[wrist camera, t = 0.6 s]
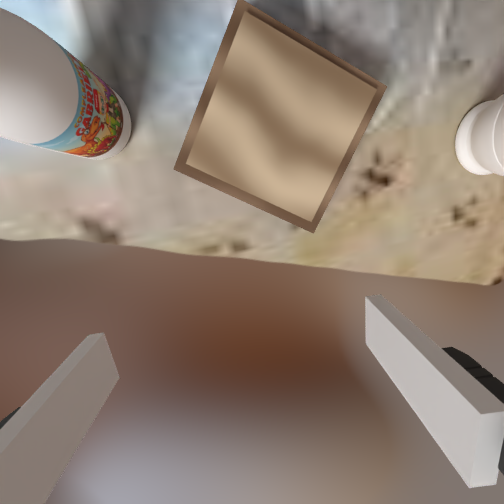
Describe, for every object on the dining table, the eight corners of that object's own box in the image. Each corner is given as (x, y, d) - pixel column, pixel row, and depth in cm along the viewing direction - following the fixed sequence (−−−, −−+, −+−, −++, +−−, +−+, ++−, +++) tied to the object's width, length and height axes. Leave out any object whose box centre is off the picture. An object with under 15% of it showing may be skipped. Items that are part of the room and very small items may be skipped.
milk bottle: (74, 167, 29) (-222, 126, 10) (46, 91, 28) (-387, -139, 8) (143, 151, 30) (-19, 82, 10) (119, 75, 28) (-133, -186, 8)
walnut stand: (237, 26, 28) (238, -8, 23) (365, 100, 30) (390, 84, 26) (181, 171, 30) (172, 168, 26) (302, 227, 33) (315, 234, 28)
